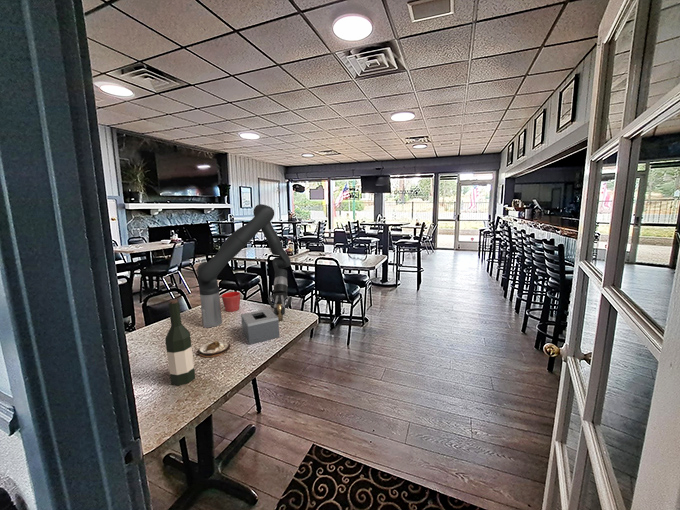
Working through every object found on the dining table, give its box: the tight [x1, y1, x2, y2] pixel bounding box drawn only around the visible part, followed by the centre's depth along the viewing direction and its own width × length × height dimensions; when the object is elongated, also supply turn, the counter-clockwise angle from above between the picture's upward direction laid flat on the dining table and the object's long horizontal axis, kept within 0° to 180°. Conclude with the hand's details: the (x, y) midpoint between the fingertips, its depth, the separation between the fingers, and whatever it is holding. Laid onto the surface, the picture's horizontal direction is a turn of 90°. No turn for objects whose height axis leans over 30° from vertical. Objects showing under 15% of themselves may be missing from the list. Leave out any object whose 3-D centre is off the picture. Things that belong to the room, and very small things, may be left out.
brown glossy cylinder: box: [276, 303, 284, 323], centre depth 161 cm, size 3×3×9 cm
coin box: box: [240, 308, 280, 346], centre depth 143 cm, size 14×14×10 cm
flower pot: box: [221, 291, 241, 313], centre depth 179 cm, size 11×11×10 cm
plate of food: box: [198, 339, 232, 359], centre depth 130 cm, size 15×15×4 cm
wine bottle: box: [164, 298, 196, 387], centre depth 107 cm, size 8×8×30 cm
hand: (279, 314), depth 159 cm, fingers closed on brown glossy cylinder, 3 cm apart
